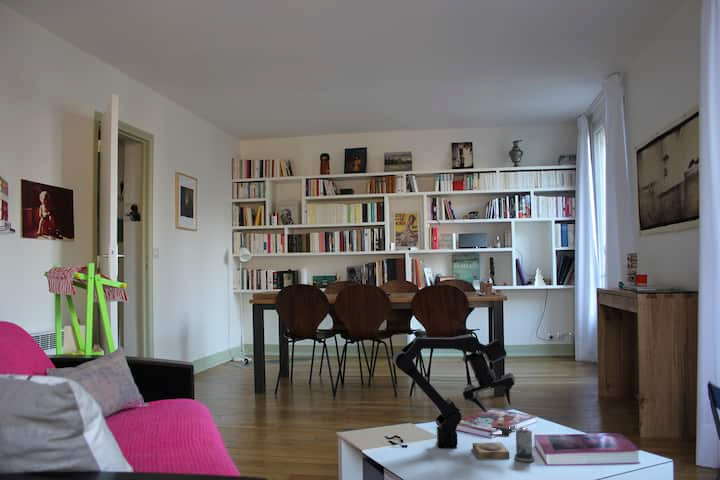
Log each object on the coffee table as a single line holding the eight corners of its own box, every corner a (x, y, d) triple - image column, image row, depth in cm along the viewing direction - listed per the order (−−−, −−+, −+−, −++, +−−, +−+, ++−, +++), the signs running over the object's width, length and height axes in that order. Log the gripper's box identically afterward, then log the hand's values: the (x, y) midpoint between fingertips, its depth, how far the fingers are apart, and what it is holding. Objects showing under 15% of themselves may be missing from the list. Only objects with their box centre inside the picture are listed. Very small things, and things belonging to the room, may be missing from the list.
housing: (517, 462, 177) (516, 431, 177) (512, 456, 183) (511, 425, 184) (537, 462, 177) (536, 430, 177) (530, 456, 183) (529, 425, 184)
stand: (479, 458, 181) (478, 452, 181) (472, 448, 191) (472, 442, 191) (509, 458, 181) (509, 451, 182) (501, 448, 191) (501, 442, 192)
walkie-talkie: (514, 438, 204) (517, 423, 223) (513, 425, 204) (517, 412, 223) (489, 436, 207) (495, 422, 226) (489, 424, 207) (495, 411, 226)
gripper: (506, 353, 202) (523, 392, 202) (459, 368, 208) (476, 406, 208) (505, 363, 192) (523, 404, 191) (455, 379, 198) (472, 419, 197)
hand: (498, 408), depth 197 cm, fingers open, 9 cm apart
